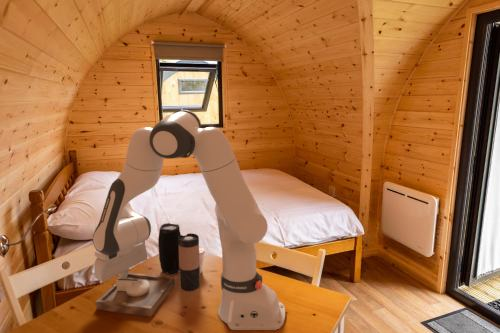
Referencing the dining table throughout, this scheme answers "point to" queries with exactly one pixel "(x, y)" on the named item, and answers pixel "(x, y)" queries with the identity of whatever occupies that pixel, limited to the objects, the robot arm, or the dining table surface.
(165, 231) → the portable speaker
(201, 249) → the smoothie
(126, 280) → the beige rounded piece
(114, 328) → the dining table surface
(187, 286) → the travel mug
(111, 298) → the panel
